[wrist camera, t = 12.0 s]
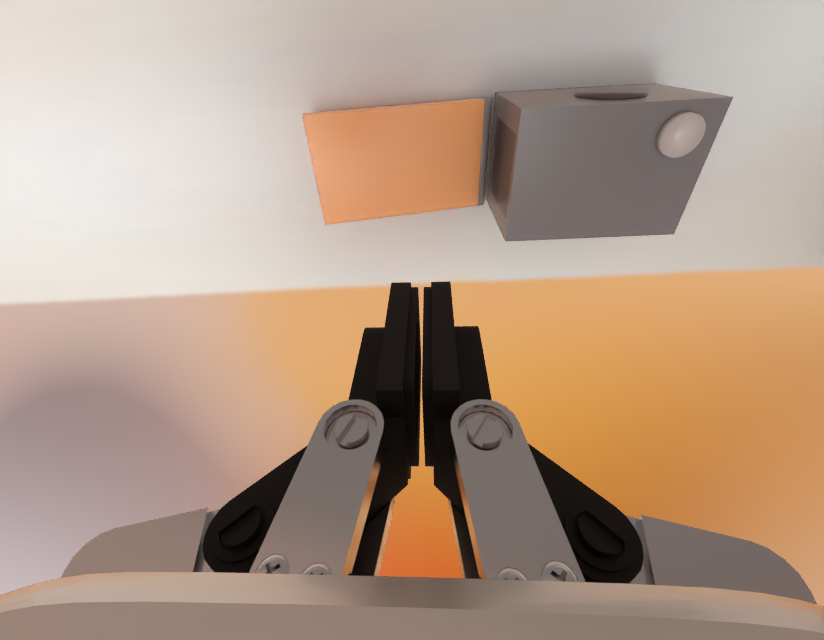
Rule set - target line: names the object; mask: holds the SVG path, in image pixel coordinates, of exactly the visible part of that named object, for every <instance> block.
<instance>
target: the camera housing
mask: <svg viewBox="0 0 824 640" xmlns="http://www.w3.org/2000/svg"><path fill="white" fill-rule="evenodd" d="M732 98H733V97H729V96H724V95H718V94H712V93H707V92H701V91H695V90H690V89H684V88H678V87H673V86H667V85H662V84H656V83H652V84H634V85H617V86H599V87H582V88H564V89H547V90H529V91H512V92H496V95H495V107H494V120H493V132H492V144H491V157H490V169H489V181H488V194H487V202H488V204H489V206H490V208H491V211H492V213H493V215H494V217H495V219H496V222H497V224H498V226H499V228H500V231H501V233H502V235H503V237H504V239H505V241H525V240H548V239H571V238H595V237H618V236H641V235H665V234H674V232H675V230H676V228H677V225H678V223H679V221H680V218H681V216H682V214H683V211H684V209H685V207H686V205H687V202H688V200H689V198H690V195H691V193H692V191H693V188H694V186H695V184H696V181H697V179H698V177H699V174H700V172H701V170H702V167H703V165H704V163H705V161H706V158H707V156H708V154H709V151H710V149H711V147H712V144H713V142H714V140H715V137H716V135H717V133H718V130H719V128H720V126H721V123H722V121H723V119H724V117H725V114H726V112H727V110H728V107H729V105H730V103H731V100H732Z"/></svg>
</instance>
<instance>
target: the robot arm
mask: <svg viewBox="0 0 824 640" xmlns="http://www.w3.org/2000/svg"><path fill="white" fill-rule="evenodd" d="M423 311H424V313H423V366H422V368H423V369H422V399H423V423H424V445H425V466H434V485H435V486H436V487H437V488H438V489H439V490H440V491H441V492H442V493H443V494H444V495H445V496H446V497H447V498H448V504H449V510H450V515H451V520H452V526H453V531H454V536H455V541H456V547H457V552H458V557H459V562H460V567H461V572H462V578H463V579H462V578H426V577H389V576H388V577H387V576H379V573H380V568H381V564H382V560H383V555H384V550H385V546H386V541H387V537H388V532H389V528H390V522H391V518H392V513H393V509H394V504H395V496H396V495H397V494H398V493H399V492H400V491H401V490H402V489H403V488H405V487H406V486H407V484H408V479H410V478H411V466H419V437H420V435H419V433H420V390H421V346H420V321H419V297H418V287H411V283H391V289H390V296H389V303H388V309H387V316H386V322H385V328H365V330H364V333H363V337H362V342H361V346H360V351H359V355H358V360H357V364H356V369H355V374H354V378H353V383H352V387H351V392H350V396H349V400H347V401H343V402H340V403H338V404H336V405H334V406H332V407H331V408H330V409H329V410H327V411H326V412H325V413H324V414H323V416H322V418H321V419H320V420H319V422H318V424H317V426H316V429H315V431H314V433H313V435H312V437H311V439H310V442H309V444H308V446H306V447H305V448H303V449H302V450H301V451H299V452H298V453H296V454H295V455H293V456H292V457H291V458H289V459H288V460H286V461H285V462H284V463H282V464H281V465H279V466H278V467H277V468H275V469H274V470H272V471H271V472H270V473H268V474H267V475H266V476H264V477H263V478H261V479H260V480H259V481H257V482H256V483H254V484H253V485H251V486H250V487H249V488H247V489H246V490H244V491H243V492H242V493H240V494H239V495H237V496H236V497H235V498H233V499H232V500H230V501H229V502H228V503H227V504H226V505H225V506H223V507H222V508H221V509H220V510H216V511H210V510H209V508H205V509H200V510H196V511H191V512H187V513H182V514H178V515H173V516H169V517H164V518H160V519H155V520H151V521H146V522H142V523H137V524H132V525H128V526H123V527H119V528H114V529H112V530H109V531H107V532H104V533H101V534H100V535H98V536H97V537H95V538H94V539H92V540H91V541H89V542H88V543H87V544H86V545H84V547H82V548H81V549H80V550H79V552H77V553H76V555H75V556H74V557H73V558H72V560H71V561H70V563H69V564H68V566H67V568H66V569H65V571H64V572H63V575H62V577H61V578H58V579H54V580H49V581H45V582H41V583H36V584H33V585H30V586H27V587H23V588H20V589H17V590H14V591H11V592H8V593H5V594H2V595H0V640H824V606H820V605H817V603H816V601H815V599H814V597H813V595H812V593H811V591H810V589H809V588H808V586H807V585H806V583H805V582H804V580H803V579H802V577H801V576H800V575H799V573H798V572H797V571H796V570H795V569H794V568H793V567H792V566H791V565H790V564H789V563H787V561H786V560H785V559H783V558H782V557H780V556H779V555H777V554H776V553H774V552H773V551H771V550H770V549H768V548H767V547H764V546H761V545H759V544H756V543H754V542H751V541H747V540H743V539H739V538H735V537H731V536H727V535H723V534H718V533H714V532H710V531H706V530H702V529H698V528H693V527H689V526H685V525H681V524H677V523H673V522H669V521H664V520H660V519H656V518H652V517H648V516H644V515H641V516H640V517H639V518H638V519H637V518H633V517H628V516H625V515H624V514H623V513H622V512H621V511H620V510H618V509H617V508H616V507H615V506H614V505H612V504H611V503H609V502H608V501H607V500H605V499H604V498H603V497H601V496H600V495H598V494H597V493H596V492H594V491H593V490H591V489H590V488H589V487H587V486H586V485H584V484H583V483H582V482H580V481H579V480H578V479H576V478H575V477H573V476H572V475H571V474H569V473H568V472H567V471H565V470H564V469H562V468H561V467H560V466H558V465H557V464H556V463H554V462H553V461H551V460H550V459H549V458H547V457H546V456H545V455H543V454H542V453H540V452H539V451H538V450H536V449H535V448H534V447H532V446H531V445H529V444H528V443H527V440H526V438H525V436H524V433H523V431H522V429H521V426H520V424H519V422H518V420H517V419H516V417H515V415H514V414H513V413H512V412H511V411H510V410H509V409H508V408H507V407H505V406H503V405H501V404H499V403H498V402H495V401H492V400H491V394H490V389H489V383H488V377H487V371H486V366H485V360H484V354H483V349H482V343H481V338H480V332H479V328H478V326H470V327H469V326H463V327H454V318H453V307H452V297H451V285H450V282H431V287H424V309H423Z"/></svg>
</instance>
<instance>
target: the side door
mask: <svg viewBox="0 0 824 640" xmlns="http://www.w3.org/2000/svg"><path fill="white" fill-rule="evenodd" d="M491 104H492V98H478V99H466V100H454V101H443V102H431V103H419V104H408V105H396V106H384V107H373V108H361V109H349V110H338V111H326V112H314V113H303V115H302V116H303V121H304V125H305V130H306V135H307V140H308V144H309V149H310V154H311V159H312V164H313V168H314V173H315V178H316V183H317V187H318V192H319V197H320V202H321V207H322V211H323V216H324V221H325V225H326V224H334V223H342V222H350V221H358V220H366V219H374V218H382V217H390V216H398V215H406V214H414V213H422V212H430V211H438V210H446V209H454V208H461V207H469V206H477V205H483V204H484V196H485V183H486V170H487V157H488V144H489V130H490V117H491Z"/></svg>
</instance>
